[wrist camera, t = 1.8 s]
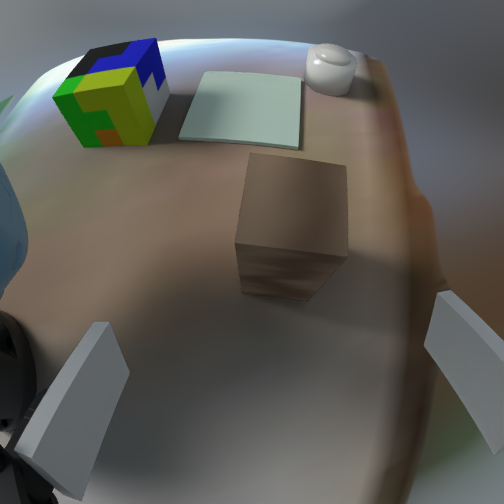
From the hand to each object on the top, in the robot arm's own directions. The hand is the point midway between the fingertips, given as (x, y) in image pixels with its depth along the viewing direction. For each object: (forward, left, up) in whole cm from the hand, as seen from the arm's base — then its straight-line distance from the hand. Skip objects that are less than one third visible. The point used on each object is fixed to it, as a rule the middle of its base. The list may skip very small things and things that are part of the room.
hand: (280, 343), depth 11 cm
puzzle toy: (-22, +26, -15) cm, 37 cm away
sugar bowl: (+5, +37, -15) cm, 40 cm away
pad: (-6, +29, -15) cm, 33 cm away
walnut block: (0, +8, -15) cm, 17 cm away
